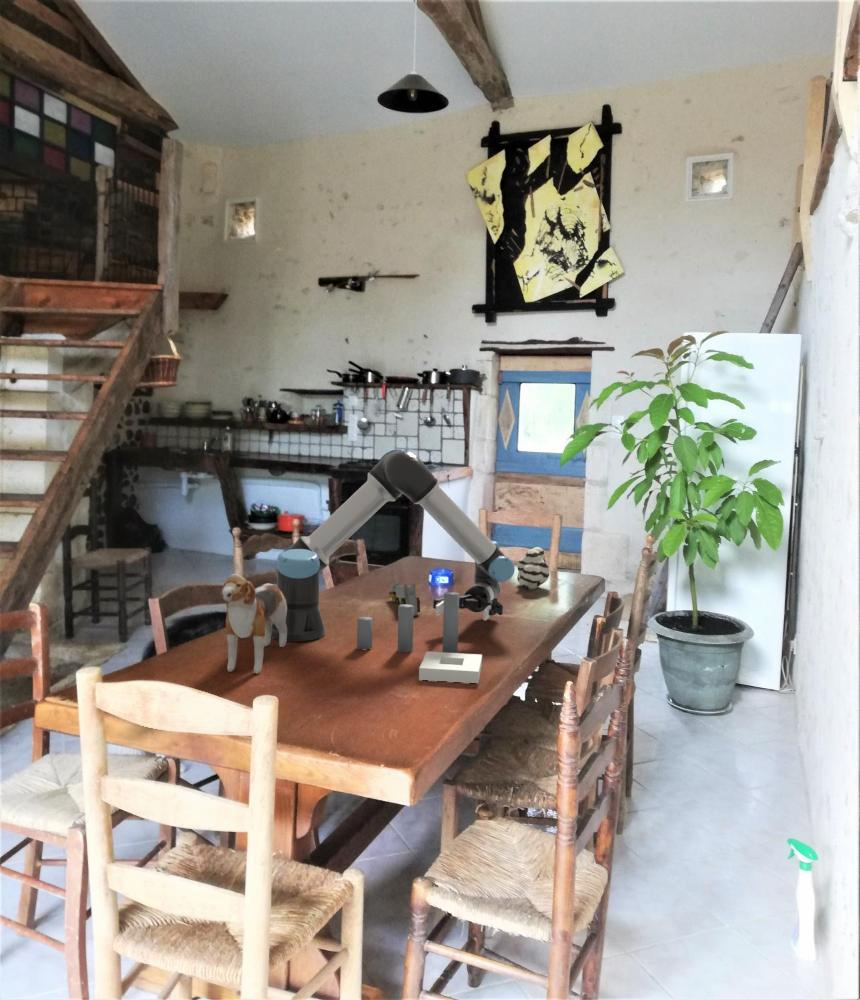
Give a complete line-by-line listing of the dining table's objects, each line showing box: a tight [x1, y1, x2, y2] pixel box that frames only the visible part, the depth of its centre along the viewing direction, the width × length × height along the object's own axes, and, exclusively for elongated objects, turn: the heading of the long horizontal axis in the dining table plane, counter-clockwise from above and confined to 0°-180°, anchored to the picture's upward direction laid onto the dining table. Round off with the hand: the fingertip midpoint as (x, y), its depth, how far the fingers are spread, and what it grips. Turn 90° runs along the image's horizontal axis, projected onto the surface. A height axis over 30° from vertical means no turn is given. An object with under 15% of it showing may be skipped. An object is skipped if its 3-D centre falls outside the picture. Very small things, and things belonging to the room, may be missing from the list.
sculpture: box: [516, 546, 551, 590], centre depth 299 cm, size 22×12×15 cm, turn 166°
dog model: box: [220, 573, 288, 675], centre depth 200 cm, size 10×41×25 cm, turn 172°
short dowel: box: [356, 616, 373, 650], centre depth 215 cm, size 4×4×8 cm
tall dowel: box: [441, 591, 460, 653], centre depth 212 cm, size 4×4×16 cm
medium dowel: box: [397, 604, 414, 653], centre depth 214 cm, size 4×4×12 cm
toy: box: [388, 582, 421, 617], centre depth 264 cm, size 6×24×10 cm, turn 15°
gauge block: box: [418, 650, 483, 685], centre depth 196 cm, size 14×14×3 cm
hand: (460, 613), depth 222 cm, fingers open, 13 cm apart
